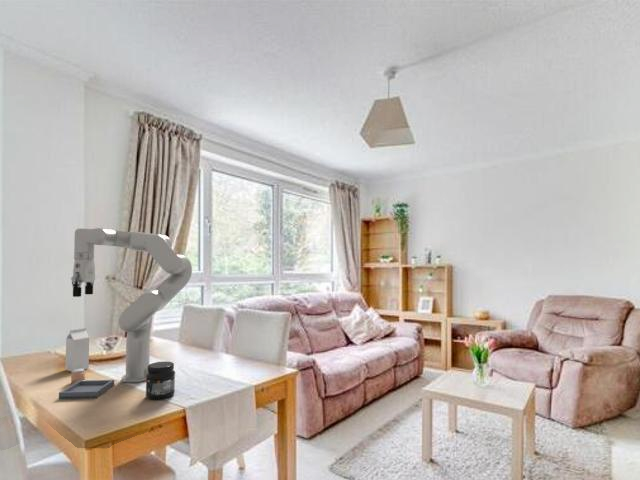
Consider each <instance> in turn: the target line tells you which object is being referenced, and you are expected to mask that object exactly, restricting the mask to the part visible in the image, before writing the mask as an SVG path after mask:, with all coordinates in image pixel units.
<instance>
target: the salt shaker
mask: <svg viewBox="0 0 640 480" xmlns="http://www.w3.org/2000/svg"><path fill="white" fill-rule="evenodd" d="M70 376H71V377H70V386H71V385H73V384H74V383H76V382H78V381H82V380H86V369H82V368H81V369H75V370H73V372H71V375H70Z"/></svg>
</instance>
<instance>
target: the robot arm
mask: <svg viewBox="0 0 640 480" xmlns="http://www.w3.org/2000/svg"><path fill="white" fill-rule="evenodd" d="M172 244H173V243H172V240H171V238H170V237H168V236H167V235H164V234H157V233H156V234H155V233H149V232H142V231H124V230H117V229H115V230H114V229H110V228H102V227H95V228H77V229H75V230H74V248H73V249H74V251H73V252H74V253H73V259H74V260H73V261H74V263H73V270H72V276H71V277H70V279H71V284H72V286H71V287H72V297H74V298H80V297H82V287H81V286H82V284H83V283H84V284H85V285H84V294H85V295H93V294H94V283H95V280H96V267H95V245H96V246H109V247H110V246H111V247H118V248H124V249H125V248H126V249H130V251H135V252H144V253H149V254H150V256H151V257H152V258H153V259H154V261H155V263H157V265H158V266H159V267H160V268H161V269H162V270H163V271H164V272H166V273H167V274H169V276H167V277H166V278H165V279H164V280H163V281H161V283H160V284H159V285H157V286H156V287H155V288H154V289H152V290H148V291H145V292H143V293H142V294H141V295H140V296H138V297H137V298H135V300H134V301H133V302H131V304H130V305H129V306H128V307H127V308H125V309H124V310H123V312H121V314H119V317H118V320H117V321H118V323H117V324H118V327H119V328H120V329H121V330H122V331H123V332H126V339H125V340H126V345H125V346H126V347H125V375H122V376H121V382H122V383H126V384H131V383H132V384H133V383H134V384H135V383H141V382H146V374H147V373H148V371H147V368H148V365H150V359H151V358H150V354H151V350H150V349H151V348H150V347H151V330H152V322H153V315H155V314H156V313H157V312H160V311H162V310H163V309H164V308H165V307H166V306H167V305H168V304H169V303H170V302H171V301H172V300H173V299H174V298H175V297H176V296H177V295H178V293H180V292H181V291H182V290H183V289H184V288H185V287H186V286H187V284H188V283H189V281H190V280H191V277H192V272H193V267H192V264H191V260H190V259H189V258H188V257H187V256H185V255H183V254H177V252H175V251H174V249H172Z"/></svg>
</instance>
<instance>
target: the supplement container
mask: <svg viewBox="0 0 640 480" xmlns="http://www.w3.org/2000/svg"><path fill="white" fill-rule="evenodd" d="M174 369H175V364H174V362H173V361H168V360H166V361H155V362H152V363H149V365H148V368H147V371H148V373H147V374H146V381H145V397H146V398H147V399H148V400H150V401H151V400H152V401H160V400H161V401H162V400H165V399H169V398H171V397H172V396H174V395H175V392H176V389H175V385H176V384H175V383H176V378H175V377H176V371H175V370H174Z"/></svg>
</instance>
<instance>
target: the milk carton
mask: <svg viewBox="0 0 640 480" xmlns="http://www.w3.org/2000/svg"><path fill="white" fill-rule="evenodd" d="M89 359H90V335H89V334H88V332H87V328H85V327H84V328H78V329H70V330H69V333H68V335H67V336H66V338H65V368H64V369H65V371H69V372H71V373H72V372H73V370H75V369H81V368H82V369H84V370H88V369H89V367H90V366H89V365H90V363H89V362H90V360H89Z"/></svg>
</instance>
